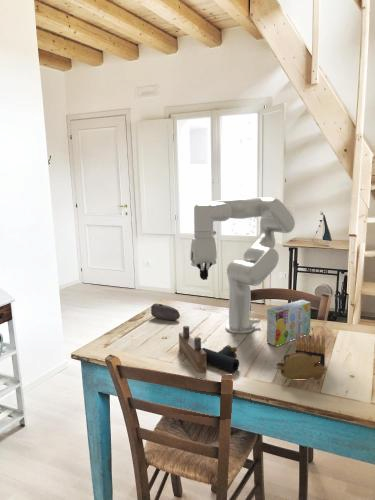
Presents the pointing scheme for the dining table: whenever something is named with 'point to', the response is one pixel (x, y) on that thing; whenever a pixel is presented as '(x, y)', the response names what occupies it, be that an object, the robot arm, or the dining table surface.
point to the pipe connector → (223, 358)
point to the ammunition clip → (311, 347)
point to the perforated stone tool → (164, 312)
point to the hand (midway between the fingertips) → (203, 278)
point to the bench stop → (192, 350)
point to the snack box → (288, 321)
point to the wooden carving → (300, 366)
